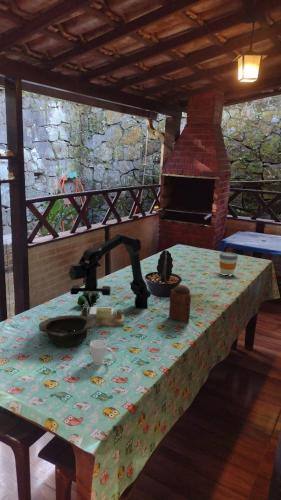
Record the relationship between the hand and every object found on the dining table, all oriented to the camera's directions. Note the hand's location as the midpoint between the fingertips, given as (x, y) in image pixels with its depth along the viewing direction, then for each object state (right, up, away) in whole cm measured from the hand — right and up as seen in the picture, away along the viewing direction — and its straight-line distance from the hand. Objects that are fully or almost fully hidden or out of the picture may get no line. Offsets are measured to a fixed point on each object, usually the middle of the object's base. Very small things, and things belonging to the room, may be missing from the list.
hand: (90, 306), depth 177 cm
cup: (+9, -17, -34) cm, 39 cm away
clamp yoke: (-2, -7, +2) cm, 8 cm away
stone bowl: (-8, -12, -15) cm, 21 cm away
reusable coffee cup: (+86, +10, +86) cm, 122 cm away
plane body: (+5, -8, +2) cm, 9 cm away
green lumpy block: (-4, -2, +23) cm, 23 cm away
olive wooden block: (+6, -5, +2) cm, 8 cm away
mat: (+4, -5, +14) cm, 15 cm away
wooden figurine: (+44, -8, +9) cm, 46 cm away
